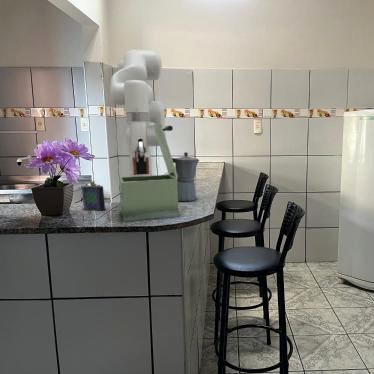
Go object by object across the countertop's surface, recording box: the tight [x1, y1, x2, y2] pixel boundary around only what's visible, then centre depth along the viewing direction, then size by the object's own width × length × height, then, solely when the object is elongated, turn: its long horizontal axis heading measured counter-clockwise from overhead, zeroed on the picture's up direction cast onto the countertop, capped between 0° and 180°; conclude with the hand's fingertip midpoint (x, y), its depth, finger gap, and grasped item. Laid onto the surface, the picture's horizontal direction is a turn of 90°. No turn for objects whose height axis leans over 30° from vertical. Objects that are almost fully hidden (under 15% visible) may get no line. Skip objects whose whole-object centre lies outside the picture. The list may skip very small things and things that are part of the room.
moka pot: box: [168, 152, 200, 202], centre depth 151 cm, size 10×15×20 cm, turn 134°
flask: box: [81, 180, 106, 211], centre depth 136 cm, size 9×3×11 cm, turn 72°
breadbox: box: [119, 174, 180, 223], centre depth 125 cm, size 18×15×13 cm
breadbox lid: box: [152, 123, 178, 179], centre depth 126 cm, size 18×15×5 cm
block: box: [132, 157, 149, 175], centre depth 123 cm, size 5×5×6 cm
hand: (141, 172), depth 123 cm, fingers closed on block, 5 cm apart
